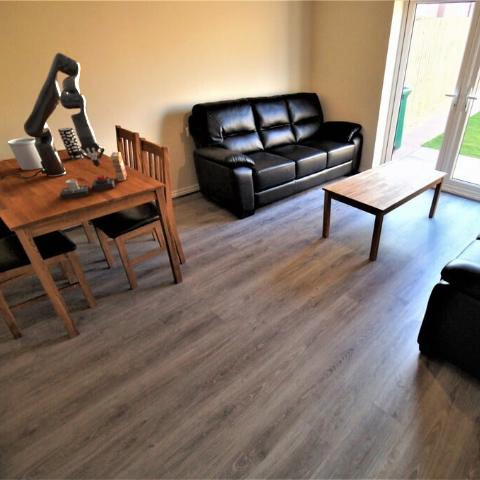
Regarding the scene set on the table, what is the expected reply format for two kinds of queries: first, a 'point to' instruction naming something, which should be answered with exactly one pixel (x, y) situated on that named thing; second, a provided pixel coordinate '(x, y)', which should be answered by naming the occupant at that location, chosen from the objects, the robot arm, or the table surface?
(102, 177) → the power button
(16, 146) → the utensil holder
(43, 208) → the table surface
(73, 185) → the dial
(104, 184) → the button housing
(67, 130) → the spotted tube
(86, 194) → the dial panel
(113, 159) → the candy box
